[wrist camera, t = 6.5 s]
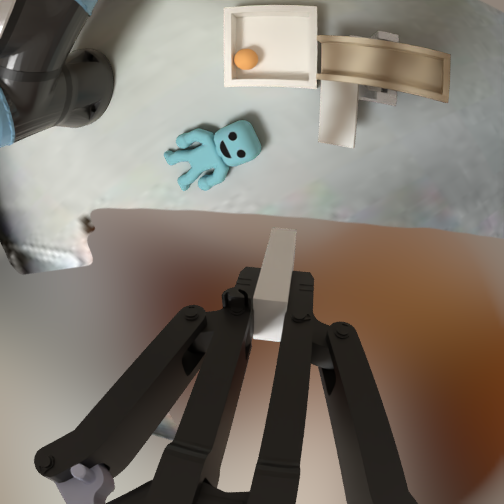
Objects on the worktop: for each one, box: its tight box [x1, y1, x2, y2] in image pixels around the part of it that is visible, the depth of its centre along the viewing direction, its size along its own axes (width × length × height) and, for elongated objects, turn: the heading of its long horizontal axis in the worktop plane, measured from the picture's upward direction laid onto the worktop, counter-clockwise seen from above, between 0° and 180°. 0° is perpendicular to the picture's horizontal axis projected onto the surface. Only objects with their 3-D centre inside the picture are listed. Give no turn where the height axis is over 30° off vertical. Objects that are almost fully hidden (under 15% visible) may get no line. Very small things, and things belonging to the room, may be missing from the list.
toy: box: [164, 120, 261, 191], centre depth 41 cm, size 10×5×15 cm
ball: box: [234, 49, 258, 70], centre depth 32 cm, size 3×3×3 cm
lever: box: [316, 35, 450, 148], centre depth 26 cm, size 15×14×3 cm
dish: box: [224, 5, 317, 89], centre depth 31 cm, size 12×12×4 cm
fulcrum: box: [349, 31, 399, 106], centre depth 27 cm, size 11×10×8 cm
